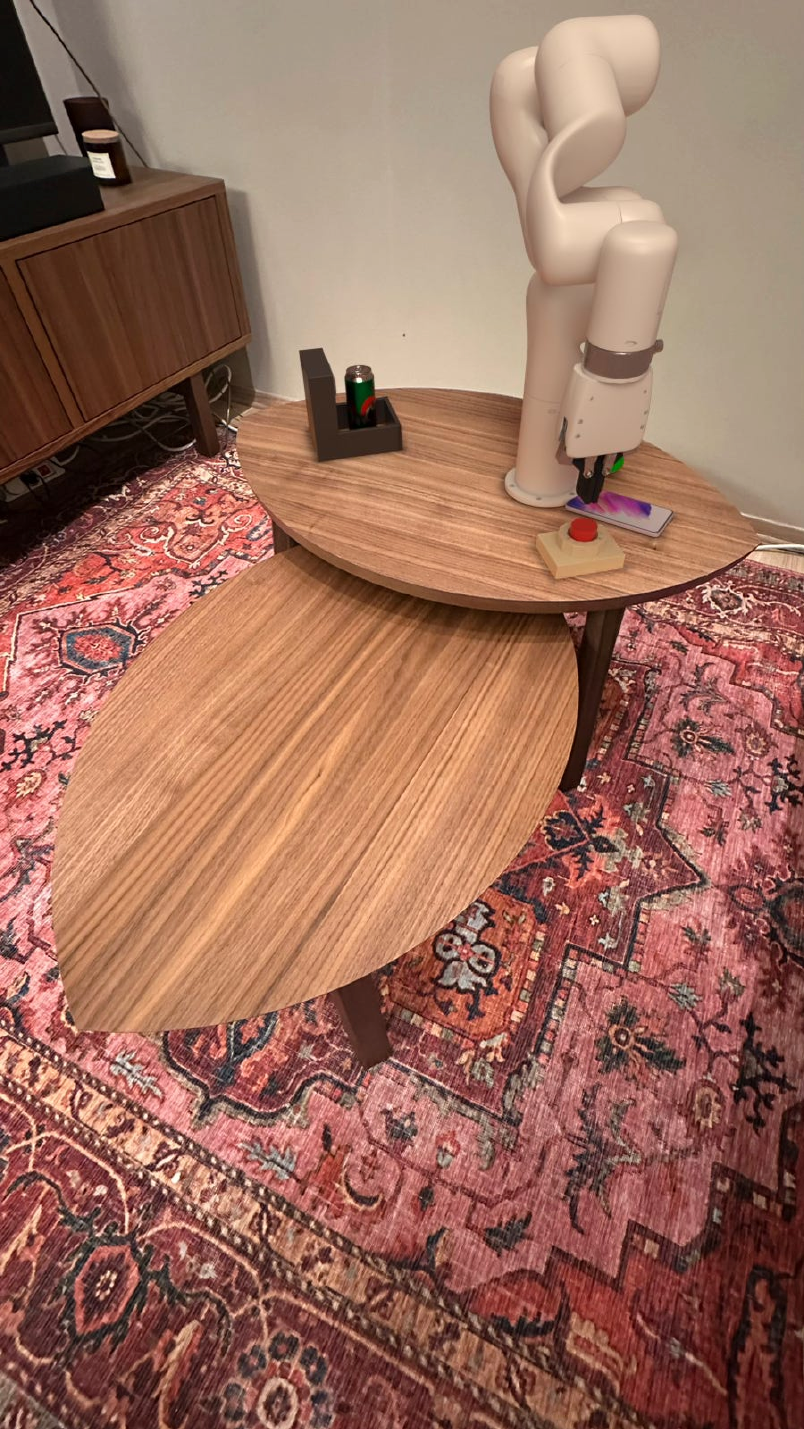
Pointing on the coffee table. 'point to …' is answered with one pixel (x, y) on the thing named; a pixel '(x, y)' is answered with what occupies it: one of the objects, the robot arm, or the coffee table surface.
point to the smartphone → (624, 512)
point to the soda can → (360, 397)
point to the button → (583, 530)
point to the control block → (579, 552)
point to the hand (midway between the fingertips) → (587, 498)
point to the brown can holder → (342, 416)
